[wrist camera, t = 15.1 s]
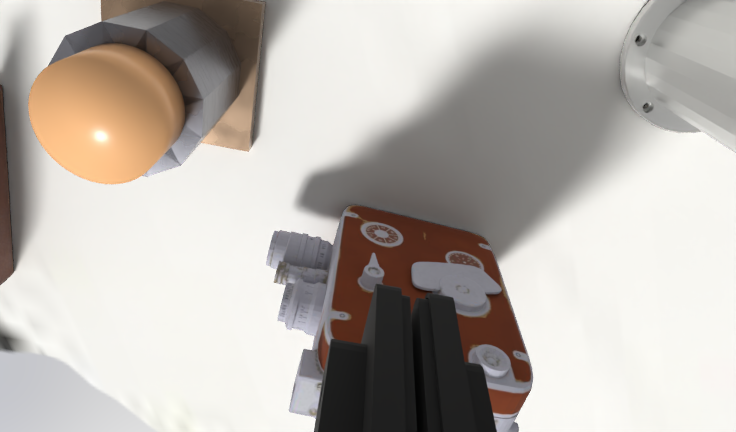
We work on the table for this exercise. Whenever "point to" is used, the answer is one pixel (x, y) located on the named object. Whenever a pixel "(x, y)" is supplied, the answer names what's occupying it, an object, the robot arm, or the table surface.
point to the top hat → (191, 62)
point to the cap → (107, 112)
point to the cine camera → (416, 278)
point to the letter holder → (4, 205)
